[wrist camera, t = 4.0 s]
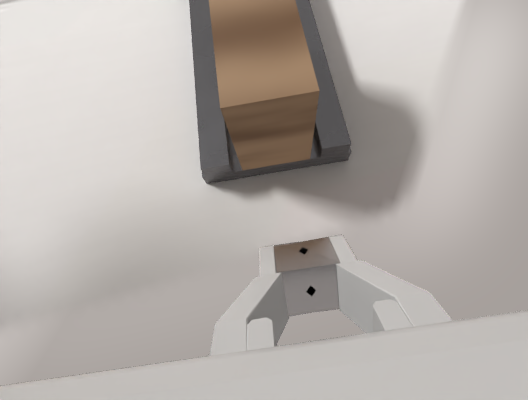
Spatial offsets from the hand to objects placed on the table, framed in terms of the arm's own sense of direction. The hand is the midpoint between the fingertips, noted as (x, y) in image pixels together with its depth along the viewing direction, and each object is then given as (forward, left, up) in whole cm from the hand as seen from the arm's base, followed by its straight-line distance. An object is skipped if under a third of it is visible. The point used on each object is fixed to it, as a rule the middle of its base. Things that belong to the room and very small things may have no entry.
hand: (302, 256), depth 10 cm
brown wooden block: (-3, +13, -8) cm, 15 cm away
